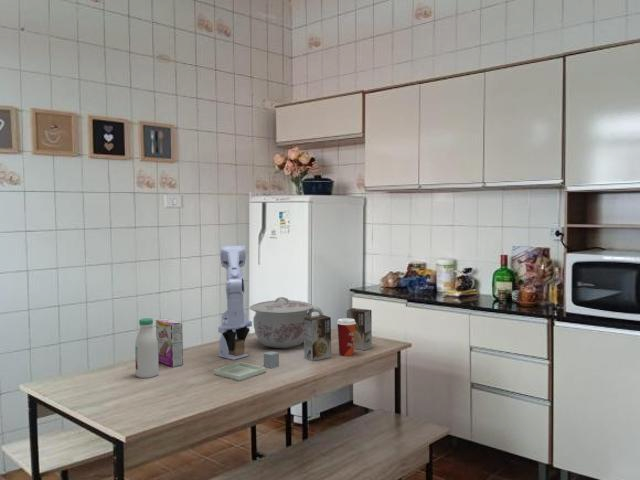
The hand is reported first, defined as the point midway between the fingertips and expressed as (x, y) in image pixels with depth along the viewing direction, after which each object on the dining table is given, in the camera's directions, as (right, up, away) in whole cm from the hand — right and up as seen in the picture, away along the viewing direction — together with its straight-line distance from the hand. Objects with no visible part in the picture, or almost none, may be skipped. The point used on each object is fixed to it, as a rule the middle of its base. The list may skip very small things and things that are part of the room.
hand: (235, 349), depth 203 cm
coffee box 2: (+47, -6, +35) cm, 59 cm away
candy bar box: (-27, -8, +12) cm, 30 cm away
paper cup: (+41, -7, +24) cm, 48 cm away
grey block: (+12, -8, +8) cm, 16 cm away
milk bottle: (-31, -9, -3) cm, 32 cm away
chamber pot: (+14, -6, +40) cm, 43 cm away
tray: (+2, -8, -1) cm, 9 cm away
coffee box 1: (+29, -7, +19) cm, 36 cm away
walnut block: (0, -2, 0) cm, 2 cm away
